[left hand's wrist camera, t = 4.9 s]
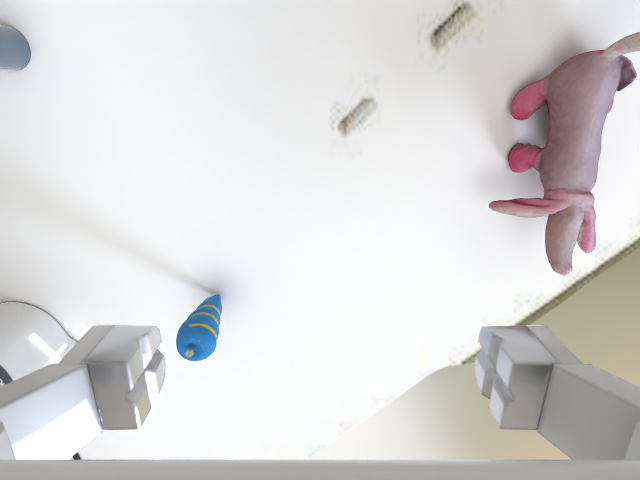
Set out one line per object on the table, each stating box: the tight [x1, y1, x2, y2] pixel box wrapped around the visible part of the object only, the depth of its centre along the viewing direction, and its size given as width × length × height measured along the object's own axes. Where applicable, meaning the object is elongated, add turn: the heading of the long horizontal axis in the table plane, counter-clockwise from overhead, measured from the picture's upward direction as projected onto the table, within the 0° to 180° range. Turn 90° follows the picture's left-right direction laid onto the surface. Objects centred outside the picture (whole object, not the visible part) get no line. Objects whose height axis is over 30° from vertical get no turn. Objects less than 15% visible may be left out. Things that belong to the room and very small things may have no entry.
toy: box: [489, 32, 640, 275], centre depth 51 cm, size 19×24×15 cm
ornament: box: [176, 295, 222, 361], centre depth 57 cm, size 5×5×15 cm
